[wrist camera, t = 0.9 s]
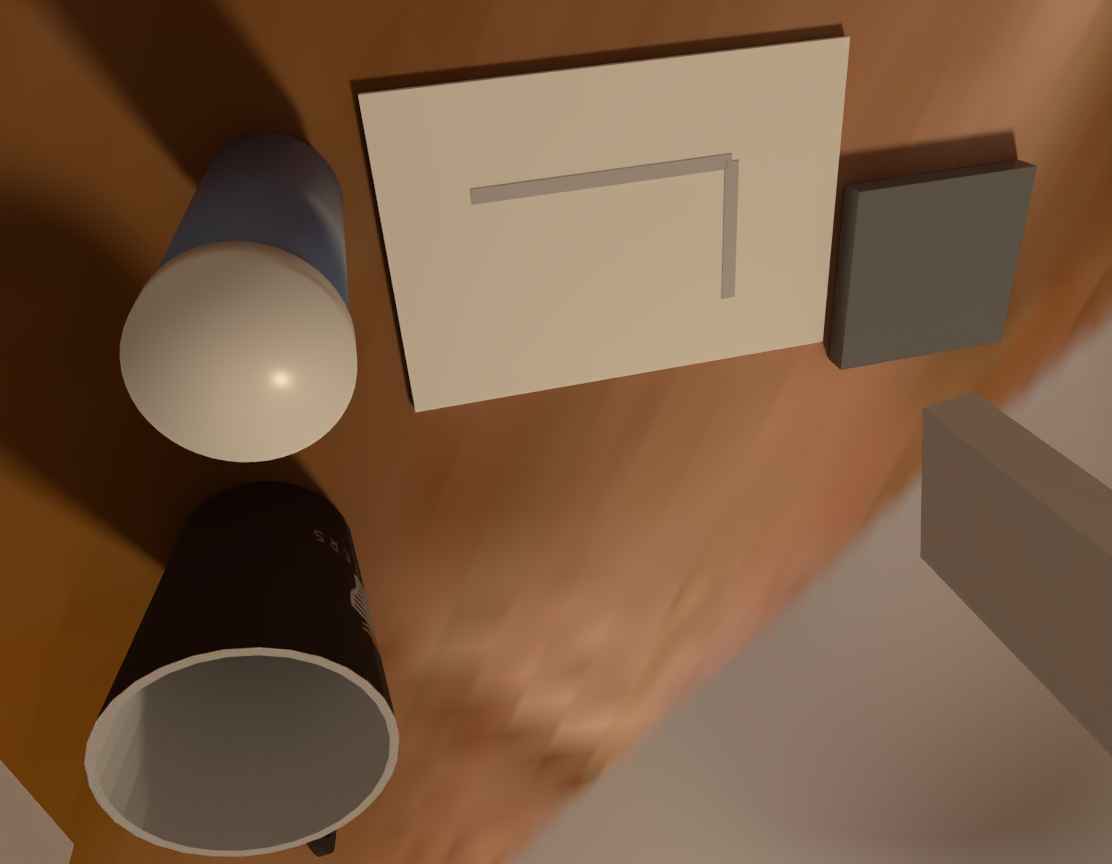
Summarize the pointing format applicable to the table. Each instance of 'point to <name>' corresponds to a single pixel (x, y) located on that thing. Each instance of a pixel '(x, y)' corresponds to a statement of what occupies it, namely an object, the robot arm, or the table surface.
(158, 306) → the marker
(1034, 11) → the table surface
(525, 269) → the paper
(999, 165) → the coaster
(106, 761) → the coffee mug
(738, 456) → the table surface
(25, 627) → the table surface
